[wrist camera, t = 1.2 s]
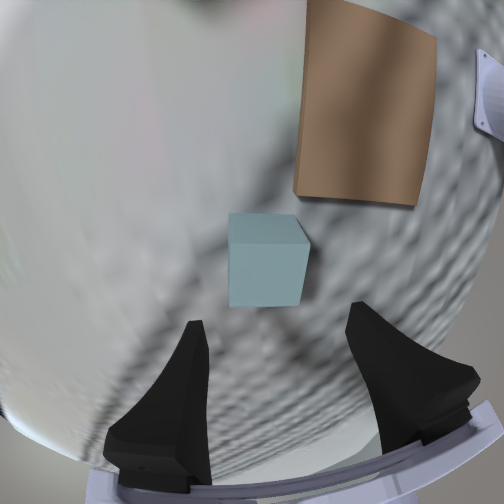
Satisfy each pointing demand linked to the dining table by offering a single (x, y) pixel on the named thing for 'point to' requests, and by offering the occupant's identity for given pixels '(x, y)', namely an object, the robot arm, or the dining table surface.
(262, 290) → the teal cube
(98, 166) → the dining table surface
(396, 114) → the walnut board
